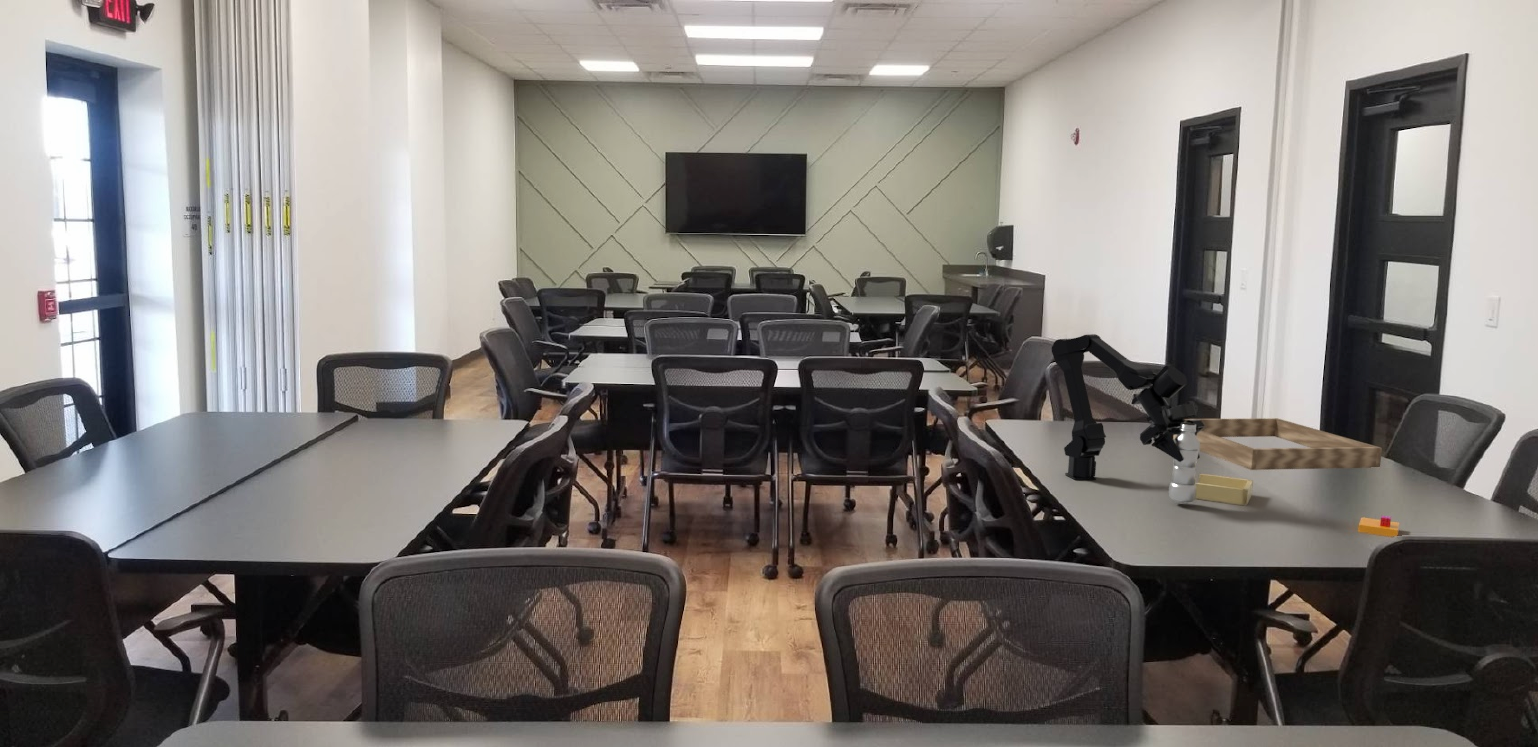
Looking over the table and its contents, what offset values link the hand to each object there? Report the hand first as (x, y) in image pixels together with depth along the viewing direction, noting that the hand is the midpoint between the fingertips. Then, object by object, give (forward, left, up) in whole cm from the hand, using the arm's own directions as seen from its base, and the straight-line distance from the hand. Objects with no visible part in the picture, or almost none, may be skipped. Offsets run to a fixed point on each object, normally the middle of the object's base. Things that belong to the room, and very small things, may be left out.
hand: (1189, 459), depth 274 cm
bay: (+15, +9, -12) cm, 21 cm away
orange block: (+35, -25, -13) cm, 44 cm away
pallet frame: (+66, +62, -12) cm, 91 cm away
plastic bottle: (0, +1, -11) cm, 11 cm away
